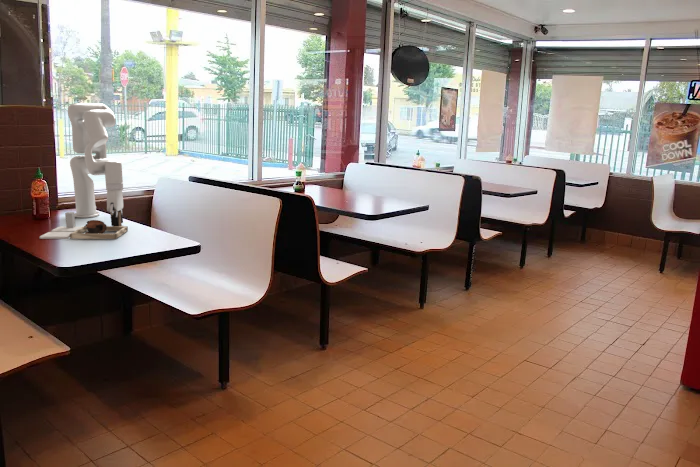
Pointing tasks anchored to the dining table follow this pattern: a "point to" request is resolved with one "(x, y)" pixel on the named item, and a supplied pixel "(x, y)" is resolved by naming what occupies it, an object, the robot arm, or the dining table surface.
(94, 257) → the dining table surface
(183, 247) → the dining table surface
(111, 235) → the beige rectangular tray
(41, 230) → the dining table surface
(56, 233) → the white base with block
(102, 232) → the brown rounded lump
